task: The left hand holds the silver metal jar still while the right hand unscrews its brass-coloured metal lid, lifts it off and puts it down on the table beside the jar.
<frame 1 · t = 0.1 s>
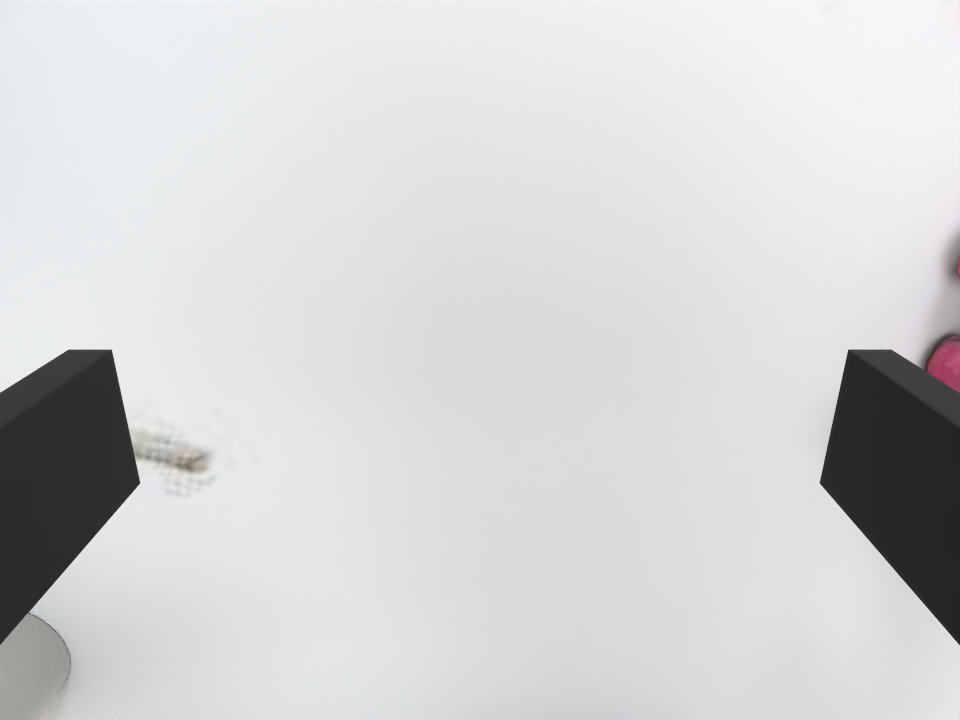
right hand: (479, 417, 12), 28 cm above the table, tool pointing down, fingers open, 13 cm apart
jar: (8, 653, 51), on the table
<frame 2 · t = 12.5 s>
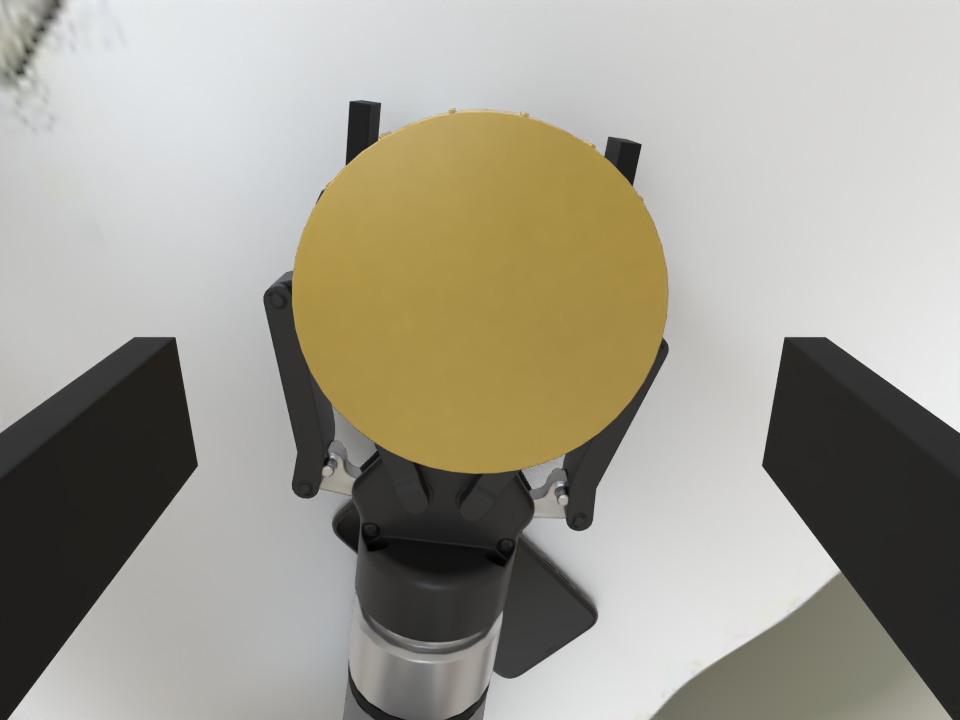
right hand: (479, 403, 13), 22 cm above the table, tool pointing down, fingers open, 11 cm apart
lid: (480, 307, 19), point 15 cm above the table, screwed on, not yet turned
smartphone: (469, 563, 41), on the table
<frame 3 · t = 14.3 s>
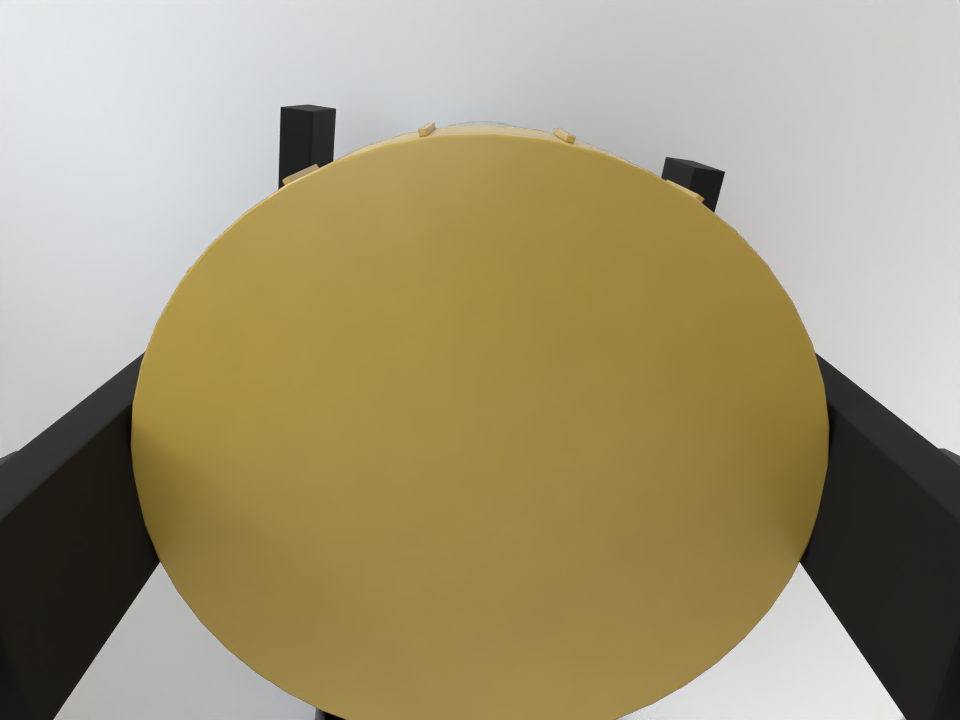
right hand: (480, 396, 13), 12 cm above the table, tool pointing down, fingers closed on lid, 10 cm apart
lid: (480, 483, 10), point 15 cm above the table, screwed on, not yet turned, touching right hand
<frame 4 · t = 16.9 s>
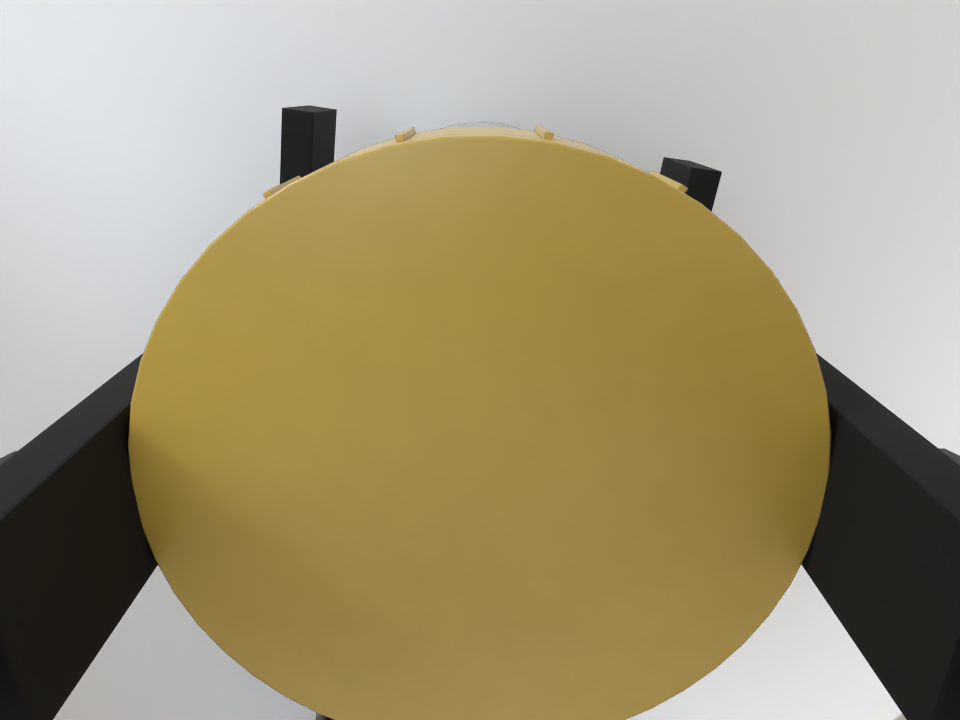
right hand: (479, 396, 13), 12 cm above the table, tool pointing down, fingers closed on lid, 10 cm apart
lid: (479, 486, 10), point 16 cm above the table, turned 67° so far, risen 0.2 cm, still on its thread, touching right hand
when the right hand's fingers open (0 cm above the table, at t = 23.0 s): lid drops 2 cm, point 2 cm above the table.
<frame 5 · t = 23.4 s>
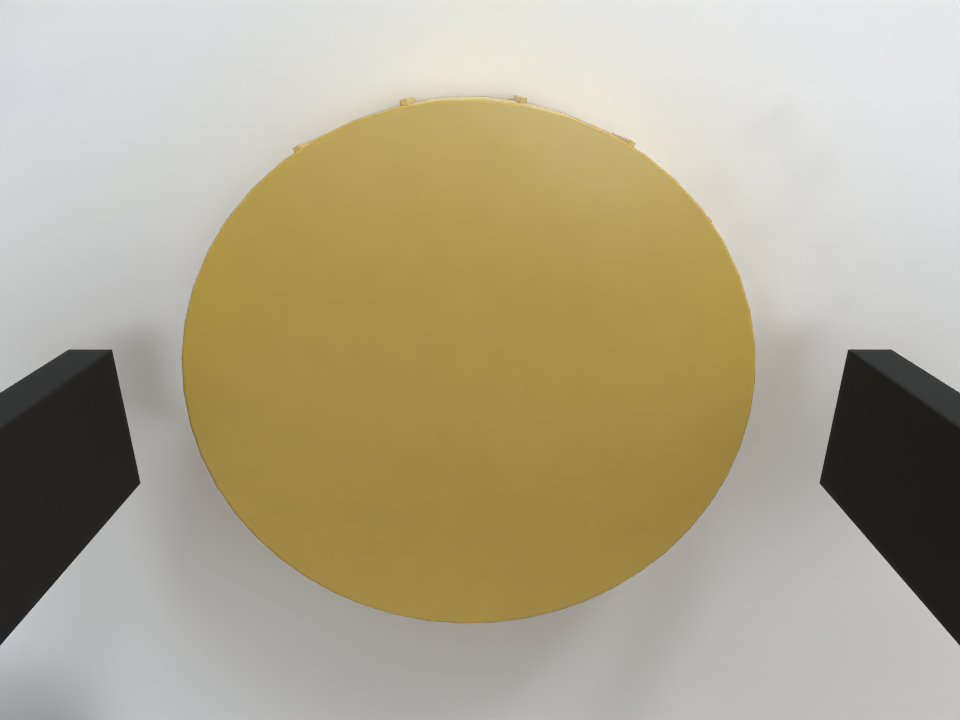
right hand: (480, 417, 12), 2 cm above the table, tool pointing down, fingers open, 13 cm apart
lid: (469, 395, 12), point 2 cm above the table, off its thread
when the left hand's fingers open (6 cm above the table, at t = 24.0 s): jar stays where it is, on the table.
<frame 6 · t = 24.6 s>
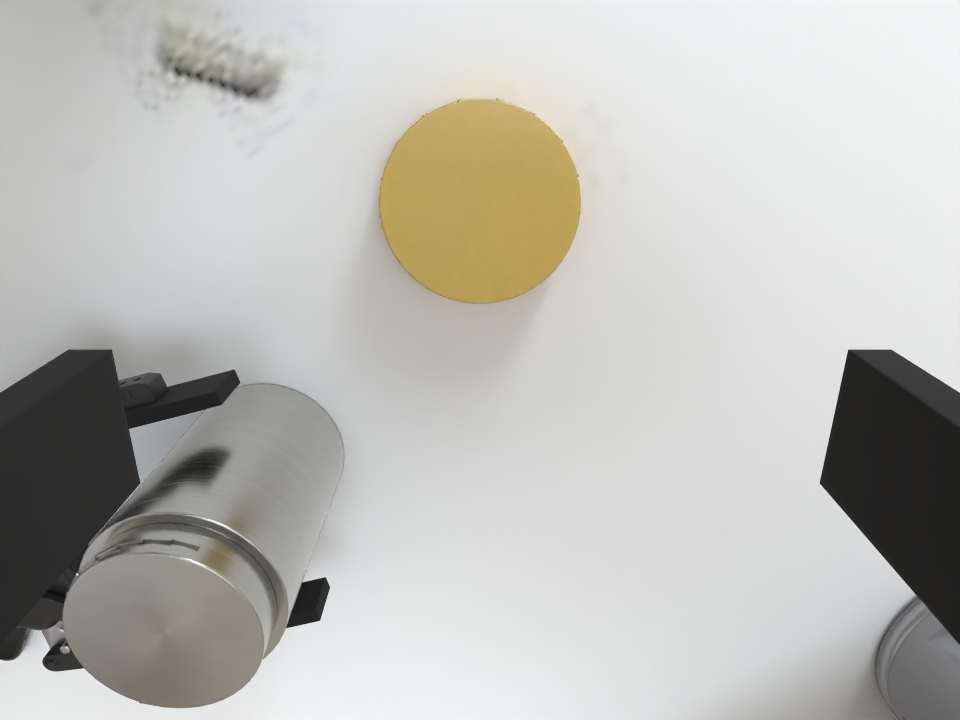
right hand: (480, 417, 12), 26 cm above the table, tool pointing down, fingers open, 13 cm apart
lid: (480, 206, 35), point 2 cm above the table, off its thread
jar: (270, 450, 42), on the table
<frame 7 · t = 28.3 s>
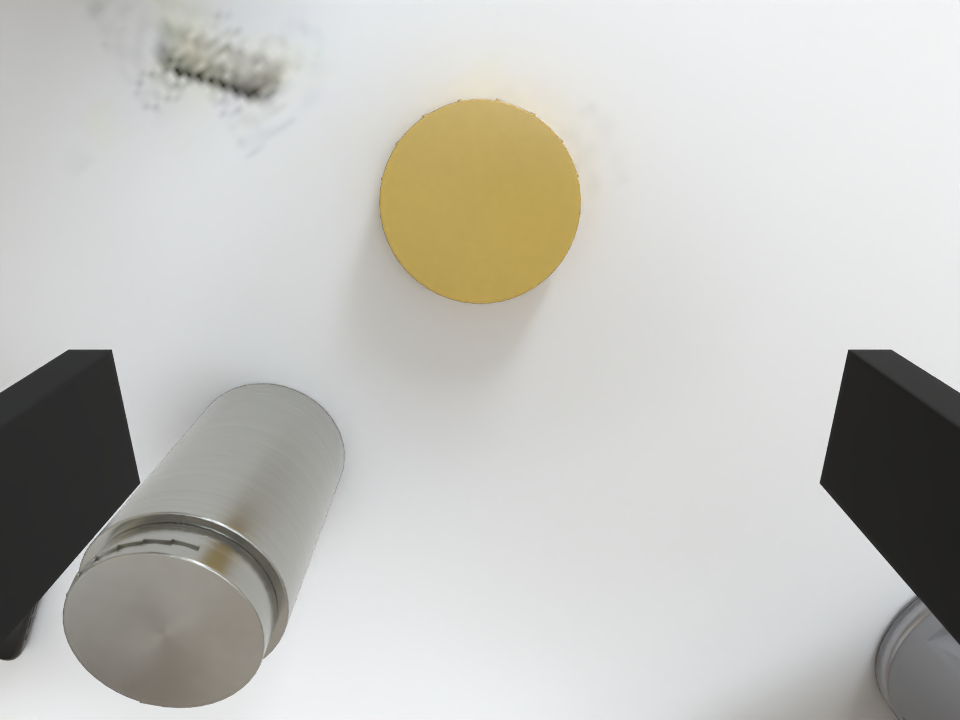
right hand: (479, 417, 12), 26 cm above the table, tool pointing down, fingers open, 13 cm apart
lid: (480, 206, 35), point 2 cm above the table, off its thread
jar: (270, 450, 42), on the table
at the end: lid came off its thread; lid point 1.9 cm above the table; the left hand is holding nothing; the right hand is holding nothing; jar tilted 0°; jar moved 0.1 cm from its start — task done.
